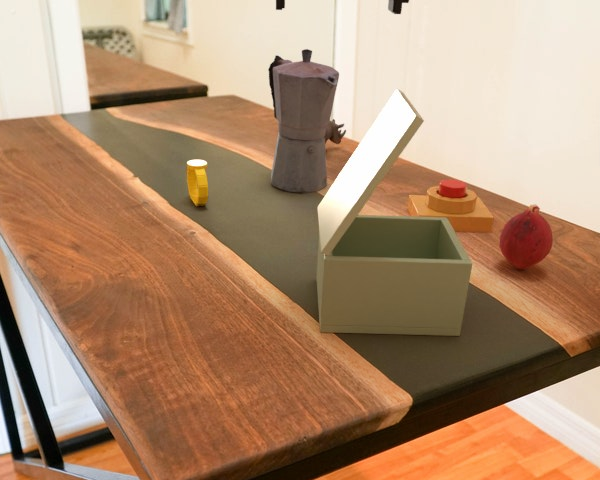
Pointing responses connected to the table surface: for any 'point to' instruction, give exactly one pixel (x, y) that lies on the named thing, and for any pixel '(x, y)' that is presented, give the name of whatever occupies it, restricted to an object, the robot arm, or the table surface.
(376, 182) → the chest lid
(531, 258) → the onion
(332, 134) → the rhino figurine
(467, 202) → the button block
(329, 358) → the table surface
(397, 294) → the chest
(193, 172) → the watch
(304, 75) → the moka pot
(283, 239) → the table surface
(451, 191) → the button
